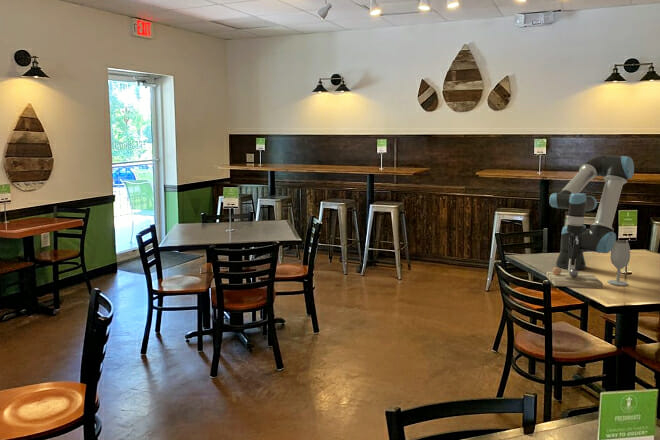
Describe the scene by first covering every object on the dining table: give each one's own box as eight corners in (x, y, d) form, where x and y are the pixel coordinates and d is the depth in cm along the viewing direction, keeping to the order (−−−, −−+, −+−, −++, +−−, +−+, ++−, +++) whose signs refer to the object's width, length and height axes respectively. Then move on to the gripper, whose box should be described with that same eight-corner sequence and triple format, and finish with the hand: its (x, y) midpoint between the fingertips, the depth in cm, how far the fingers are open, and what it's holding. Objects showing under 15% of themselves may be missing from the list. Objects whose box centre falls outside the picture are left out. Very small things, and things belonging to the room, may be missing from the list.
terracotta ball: (551, 273, 293) (552, 266, 292) (559, 274, 292) (560, 266, 291) (553, 275, 289) (553, 267, 288) (561, 276, 288) (562, 268, 287)
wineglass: (631, 286, 281) (635, 243, 278) (615, 286, 280) (619, 244, 276) (619, 281, 290) (623, 240, 286) (603, 281, 288) (607, 240, 285)
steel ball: (569, 267, 286) (570, 275, 284) (578, 268, 285) (579, 275, 283) (568, 271, 289) (568, 278, 287) (576, 271, 288) (577, 278, 286)
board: (546, 276, 297) (546, 271, 297) (591, 278, 294) (591, 273, 294) (554, 285, 280) (554, 280, 279) (602, 288, 276) (602, 283, 276)
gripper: (564, 222, 293) (560, 267, 297) (570, 226, 280) (566, 273, 284) (580, 222, 292) (575, 268, 295) (587, 227, 279) (582, 274, 283)
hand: (571, 271), depth 290 cm, fingers closed
